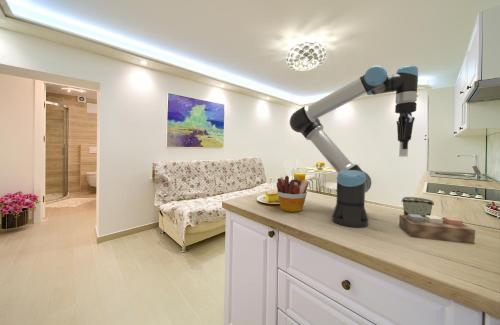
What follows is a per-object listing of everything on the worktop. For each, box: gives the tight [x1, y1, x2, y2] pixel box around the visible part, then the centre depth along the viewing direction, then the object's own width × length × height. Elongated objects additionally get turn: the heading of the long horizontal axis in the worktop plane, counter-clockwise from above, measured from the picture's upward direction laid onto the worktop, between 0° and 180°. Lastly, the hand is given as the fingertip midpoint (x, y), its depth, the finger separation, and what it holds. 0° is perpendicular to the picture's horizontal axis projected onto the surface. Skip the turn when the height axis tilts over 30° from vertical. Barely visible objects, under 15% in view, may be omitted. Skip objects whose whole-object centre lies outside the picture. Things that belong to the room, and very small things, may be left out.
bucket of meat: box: [276, 175, 310, 213], centre depth 115 cm, size 20×16×20 cm
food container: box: [401, 196, 435, 217], centre depth 101 cm, size 12×6×10 cm, turn 65°
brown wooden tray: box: [398, 214, 476, 244], centre depth 82 cm, size 19×12×5 cm, turn 72°
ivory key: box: [425, 215, 443, 224], centre depth 82 cm, size 4×4×4 cm
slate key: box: [408, 214, 424, 222], centre depth 84 cm, size 4×4×4 cm
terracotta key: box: [442, 216, 464, 226], centre depth 80 cm, size 4×4×4 cm
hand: (403, 156), depth 93 cm, fingers closed
